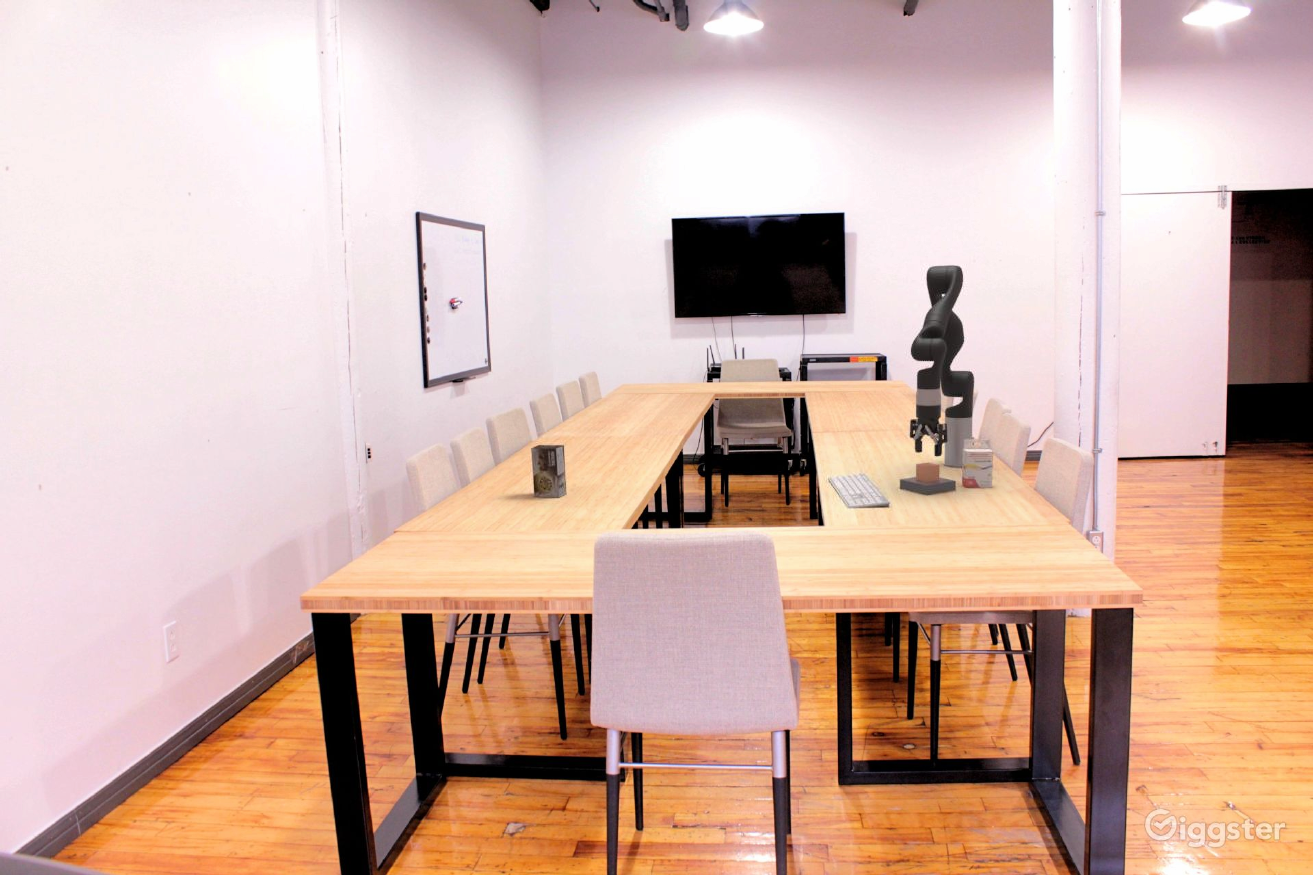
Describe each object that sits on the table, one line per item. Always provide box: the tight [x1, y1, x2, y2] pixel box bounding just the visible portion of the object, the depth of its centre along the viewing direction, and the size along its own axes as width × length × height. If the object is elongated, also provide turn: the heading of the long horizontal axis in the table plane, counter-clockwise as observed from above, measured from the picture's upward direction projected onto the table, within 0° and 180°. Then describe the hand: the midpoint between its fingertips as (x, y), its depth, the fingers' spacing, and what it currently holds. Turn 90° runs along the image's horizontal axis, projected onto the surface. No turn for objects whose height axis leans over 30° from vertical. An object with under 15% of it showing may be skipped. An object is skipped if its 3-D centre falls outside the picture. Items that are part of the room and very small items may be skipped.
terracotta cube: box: [915, 461, 941, 482], centre depth 318 cm, size 5×5×5 cm
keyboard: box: [827, 472, 891, 509], centre depth 318 cm, size 44×12×2 cm, turn 178°
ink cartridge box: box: [961, 438, 994, 488], centre depth 320 cm, size 9×5×15 cm, turn 84°
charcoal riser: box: [899, 476, 957, 496], centre depth 318 cm, size 12×12×3 cm
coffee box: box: [530, 444, 567, 498], centre depth 326 cm, size 9×6×16 cm
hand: (928, 454), depth 317 cm, fingers open, 8 cm apart
